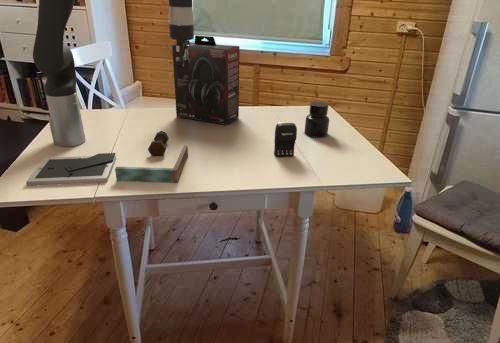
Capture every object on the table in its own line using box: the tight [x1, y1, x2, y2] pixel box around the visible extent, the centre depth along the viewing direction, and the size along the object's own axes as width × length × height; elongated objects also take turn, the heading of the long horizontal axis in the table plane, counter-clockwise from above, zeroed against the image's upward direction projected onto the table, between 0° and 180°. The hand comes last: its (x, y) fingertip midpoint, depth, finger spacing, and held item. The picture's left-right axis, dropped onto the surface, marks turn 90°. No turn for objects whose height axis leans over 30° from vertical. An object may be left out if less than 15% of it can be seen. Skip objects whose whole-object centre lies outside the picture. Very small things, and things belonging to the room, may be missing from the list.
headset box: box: [171, 34, 241, 126], centre depth 148 cm, size 24×13×33 cm, turn 67°
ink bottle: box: [304, 101, 330, 138], centre depth 139 cm, size 10×9×12 cm
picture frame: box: [25, 152, 117, 187], centre depth 107 cm, size 16×3×21 cm
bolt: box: [147, 130, 169, 158], centre depth 124 cm, size 6×5×15 cm
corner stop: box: [114, 144, 189, 184], centre depth 110 cm, size 17×18×4 cm
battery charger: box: [273, 121, 298, 158], centre depth 119 cm, size 7×4×11 cm, turn 95°
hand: (183, 75), depth 119 cm, fingers open, 8 cm apart
